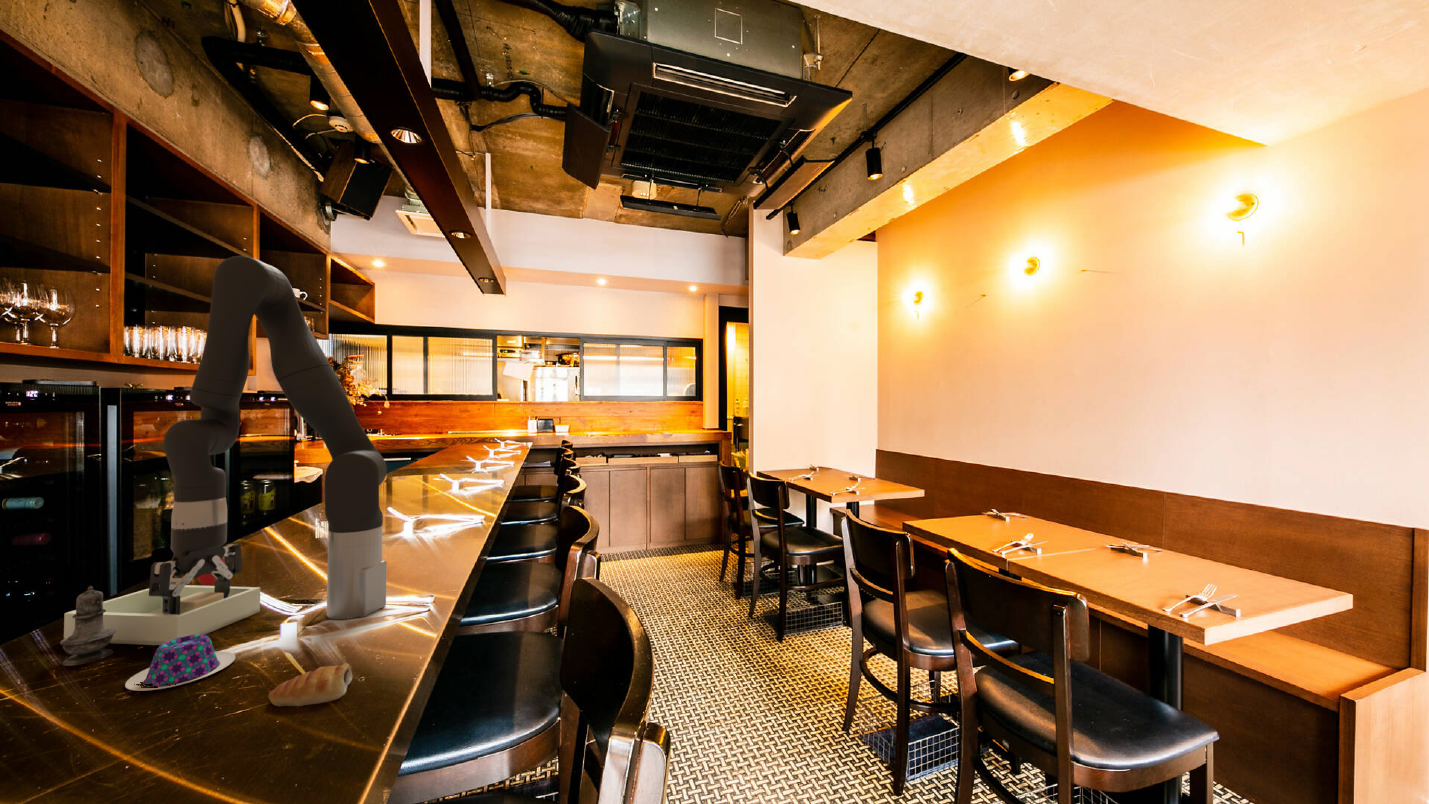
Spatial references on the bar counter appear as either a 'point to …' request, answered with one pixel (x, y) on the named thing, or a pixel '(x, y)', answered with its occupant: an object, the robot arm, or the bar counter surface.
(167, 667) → the patterned hat
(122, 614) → the tray
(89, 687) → the bar counter surface
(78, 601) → the dark grey tiered piece
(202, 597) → the maple block
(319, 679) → the pastry
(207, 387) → the robot arm
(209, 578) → the strawberry
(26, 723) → the bar counter surface
